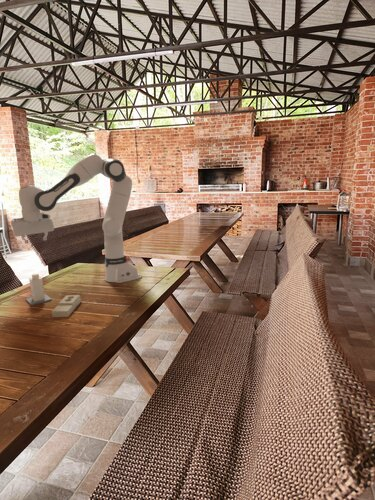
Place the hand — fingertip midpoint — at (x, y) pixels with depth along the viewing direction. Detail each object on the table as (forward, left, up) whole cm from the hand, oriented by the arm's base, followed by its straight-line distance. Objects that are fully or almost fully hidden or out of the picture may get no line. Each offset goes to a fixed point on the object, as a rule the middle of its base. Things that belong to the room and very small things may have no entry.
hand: (36, 241), depth 171 cm
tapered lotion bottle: (+2, +16, -27) cm, 32 cm away
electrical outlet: (-10, +35, -29) cm, 46 cm away
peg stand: (+2, +16, -28) cm, 32 cm away
